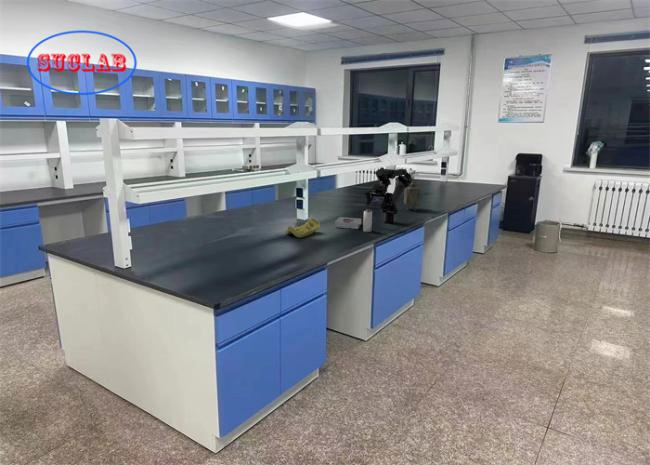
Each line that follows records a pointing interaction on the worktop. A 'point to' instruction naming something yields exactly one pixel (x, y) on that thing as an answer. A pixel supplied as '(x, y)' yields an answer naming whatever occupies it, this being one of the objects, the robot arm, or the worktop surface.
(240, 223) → the worktop surface
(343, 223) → the socket box
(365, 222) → the plug
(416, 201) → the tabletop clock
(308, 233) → the plastic component
